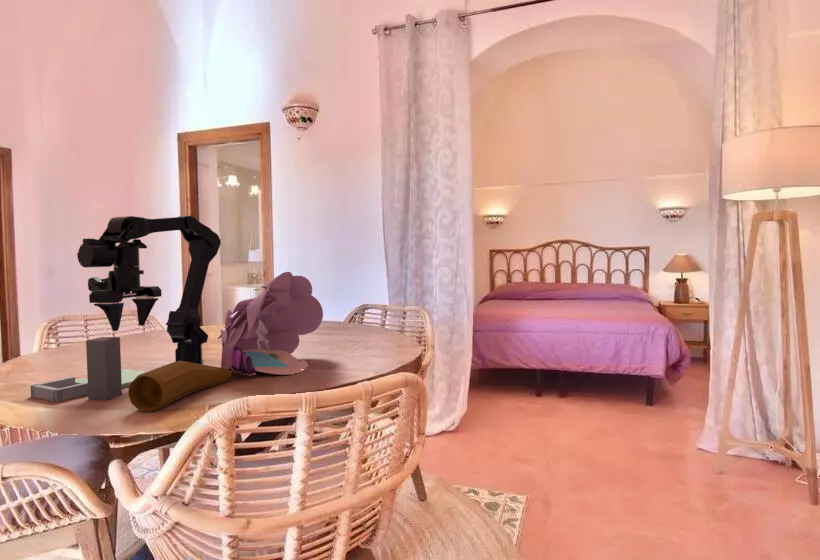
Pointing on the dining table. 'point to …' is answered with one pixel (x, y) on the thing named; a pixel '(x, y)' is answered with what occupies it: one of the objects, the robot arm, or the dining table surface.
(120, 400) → the dining table surface
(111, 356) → the chute block
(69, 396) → the two-tone flat tray
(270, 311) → the flower arrangement
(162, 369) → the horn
